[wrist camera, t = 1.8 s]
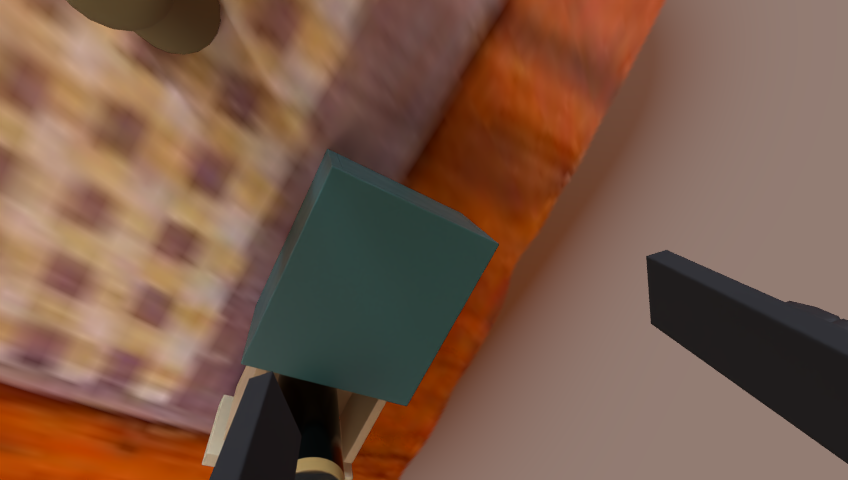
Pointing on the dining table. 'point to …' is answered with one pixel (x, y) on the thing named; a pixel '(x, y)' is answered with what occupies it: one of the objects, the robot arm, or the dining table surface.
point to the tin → (315, 428)
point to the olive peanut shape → (158, 20)
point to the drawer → (353, 414)
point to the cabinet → (365, 284)
